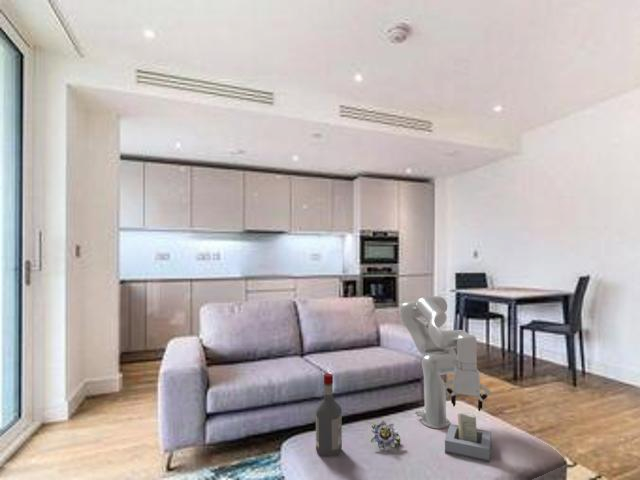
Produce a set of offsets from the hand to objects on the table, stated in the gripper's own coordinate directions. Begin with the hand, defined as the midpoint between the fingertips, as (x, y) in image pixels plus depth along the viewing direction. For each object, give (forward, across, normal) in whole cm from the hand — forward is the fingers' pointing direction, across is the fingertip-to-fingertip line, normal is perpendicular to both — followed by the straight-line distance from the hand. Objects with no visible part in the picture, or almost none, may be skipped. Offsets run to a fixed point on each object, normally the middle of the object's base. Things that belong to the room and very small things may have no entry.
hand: (466, 407), depth 156 cm
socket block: (+16, +1, -1) cm, 16 cm away
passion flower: (+17, -30, -13) cm, 37 cm away
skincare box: (+15, 0, -1) cm, 15 cm away
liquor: (+17, -49, -27) cm, 58 cm away
